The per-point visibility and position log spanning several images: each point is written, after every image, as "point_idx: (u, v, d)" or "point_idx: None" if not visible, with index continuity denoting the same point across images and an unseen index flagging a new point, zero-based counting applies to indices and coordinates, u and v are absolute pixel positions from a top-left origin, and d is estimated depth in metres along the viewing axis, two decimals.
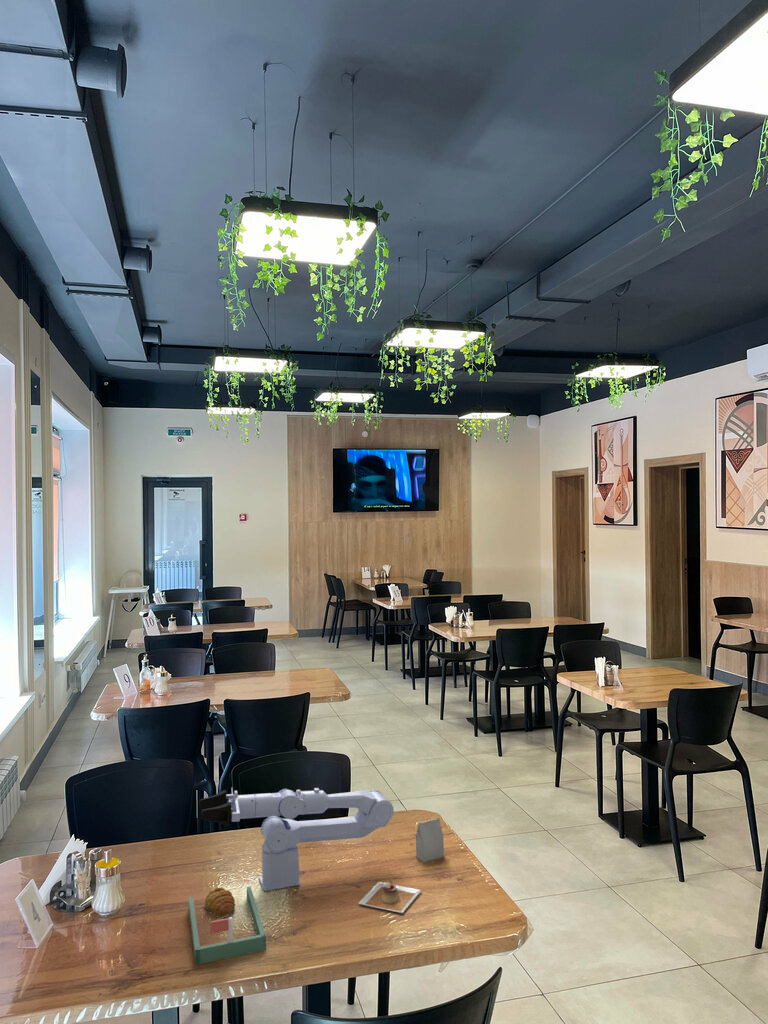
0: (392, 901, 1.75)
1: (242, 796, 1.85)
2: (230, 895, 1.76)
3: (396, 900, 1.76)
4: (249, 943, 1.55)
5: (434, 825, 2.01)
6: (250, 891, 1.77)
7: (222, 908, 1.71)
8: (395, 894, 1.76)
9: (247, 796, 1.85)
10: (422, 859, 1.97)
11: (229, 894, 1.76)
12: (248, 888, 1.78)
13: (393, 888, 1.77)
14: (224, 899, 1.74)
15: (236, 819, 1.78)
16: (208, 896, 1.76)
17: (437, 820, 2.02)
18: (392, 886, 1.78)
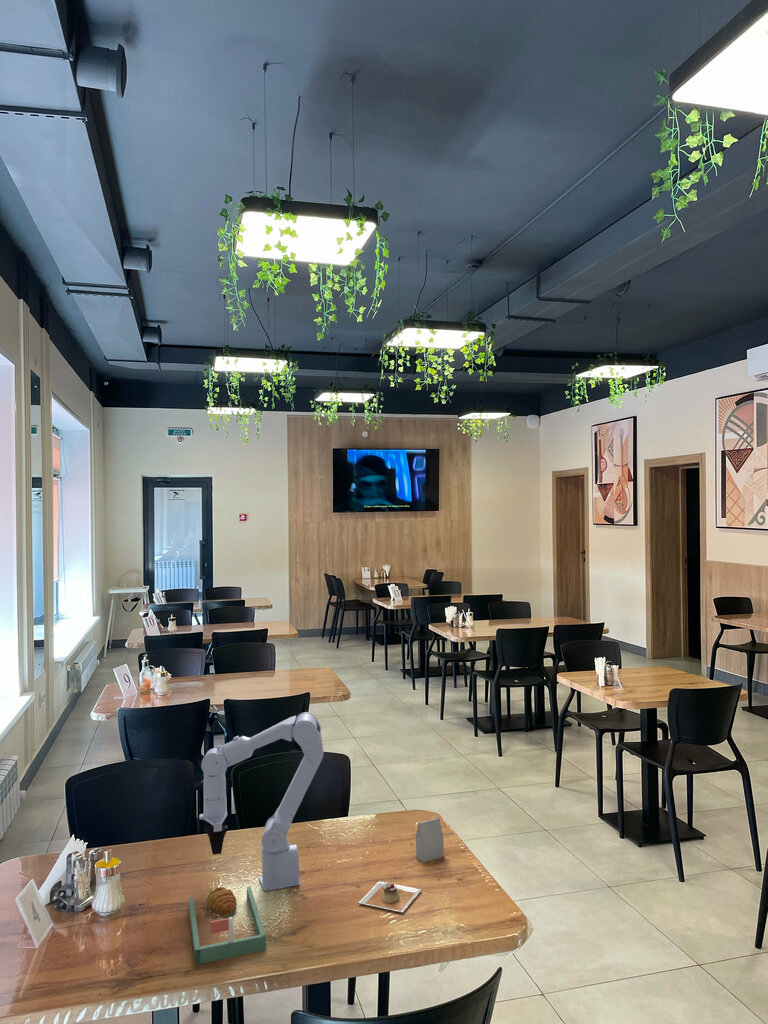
0: (392, 900, 1.76)
1: (204, 810, 1.86)
2: (232, 894, 1.76)
3: (396, 899, 1.76)
4: (249, 943, 1.55)
5: (434, 825, 2.01)
6: (250, 891, 1.77)
7: (224, 908, 1.71)
8: (396, 893, 1.77)
9: (204, 805, 1.86)
10: (422, 859, 1.97)
11: (230, 893, 1.76)
12: (248, 888, 1.78)
13: (393, 887, 1.77)
14: (225, 898, 1.74)
15: (219, 826, 1.80)
16: (209, 895, 1.76)
17: (437, 820, 2.02)
18: (392, 885, 1.78)
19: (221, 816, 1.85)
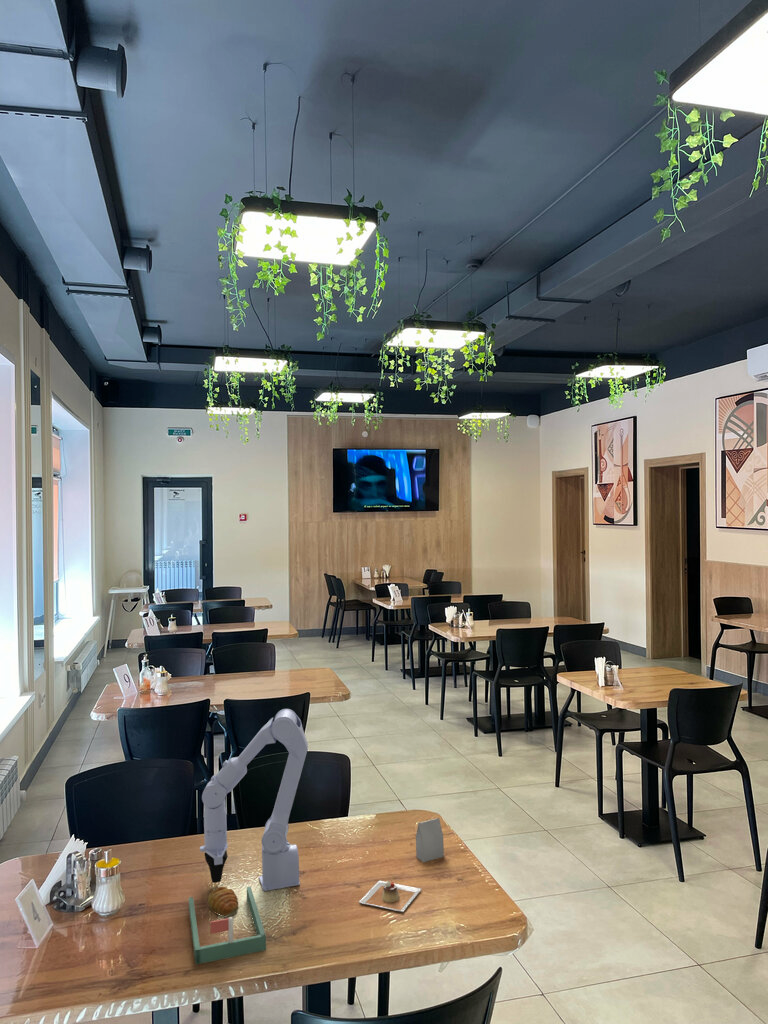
0: (392, 900, 1.76)
1: (204, 842, 1.86)
2: (233, 894, 1.76)
3: (396, 899, 1.77)
4: (249, 943, 1.55)
5: (434, 825, 2.01)
6: (250, 891, 1.77)
7: (226, 907, 1.72)
8: (396, 892, 1.77)
9: (205, 838, 1.85)
10: (422, 859, 1.97)
11: (232, 893, 1.76)
12: (248, 888, 1.78)
13: (393, 887, 1.78)
14: (227, 897, 1.74)
15: (220, 859, 1.80)
16: (211, 895, 1.76)
17: (437, 820, 2.02)
18: (392, 885, 1.78)
19: (222, 848, 1.85)
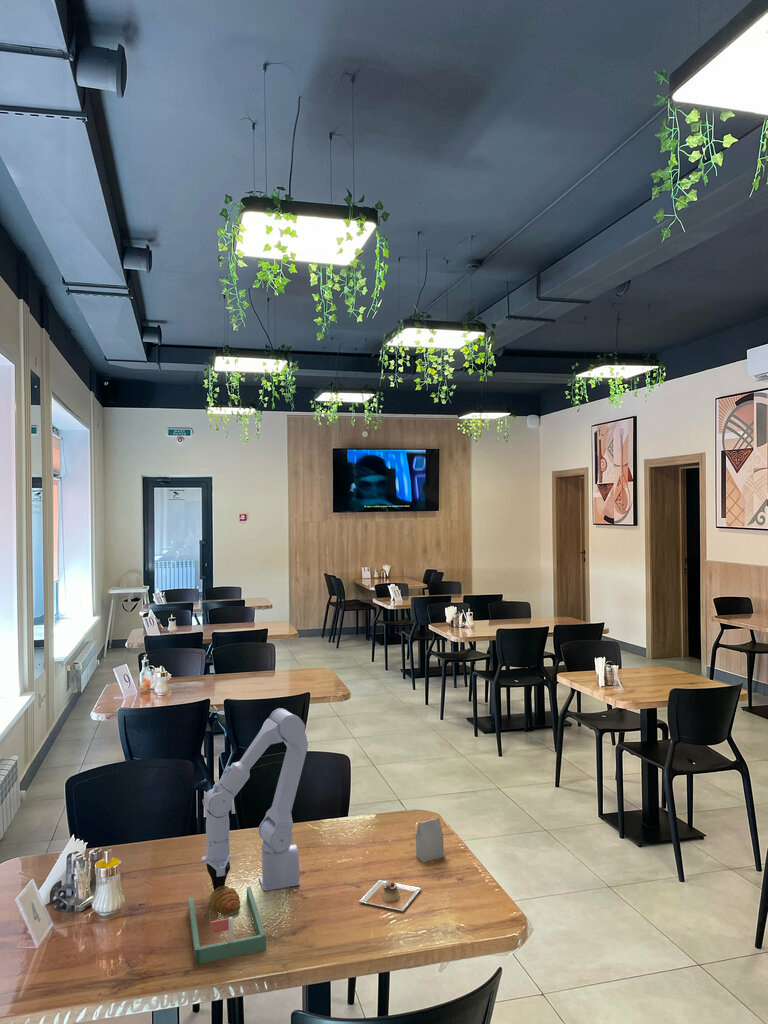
0: (392, 899, 1.76)
1: (206, 852, 1.79)
2: (235, 893, 1.77)
3: (396, 898, 1.77)
4: (249, 943, 1.55)
5: (434, 825, 2.01)
6: (250, 891, 1.77)
7: (228, 906, 1.72)
8: (396, 892, 1.77)
9: (207, 848, 1.79)
10: (422, 859, 1.97)
11: (234, 892, 1.77)
12: (248, 888, 1.78)
13: (393, 886, 1.78)
14: (229, 896, 1.74)
15: (222, 871, 1.74)
16: (213, 894, 1.77)
17: (437, 820, 2.02)
18: (392, 884, 1.79)
19: (224, 859, 1.78)
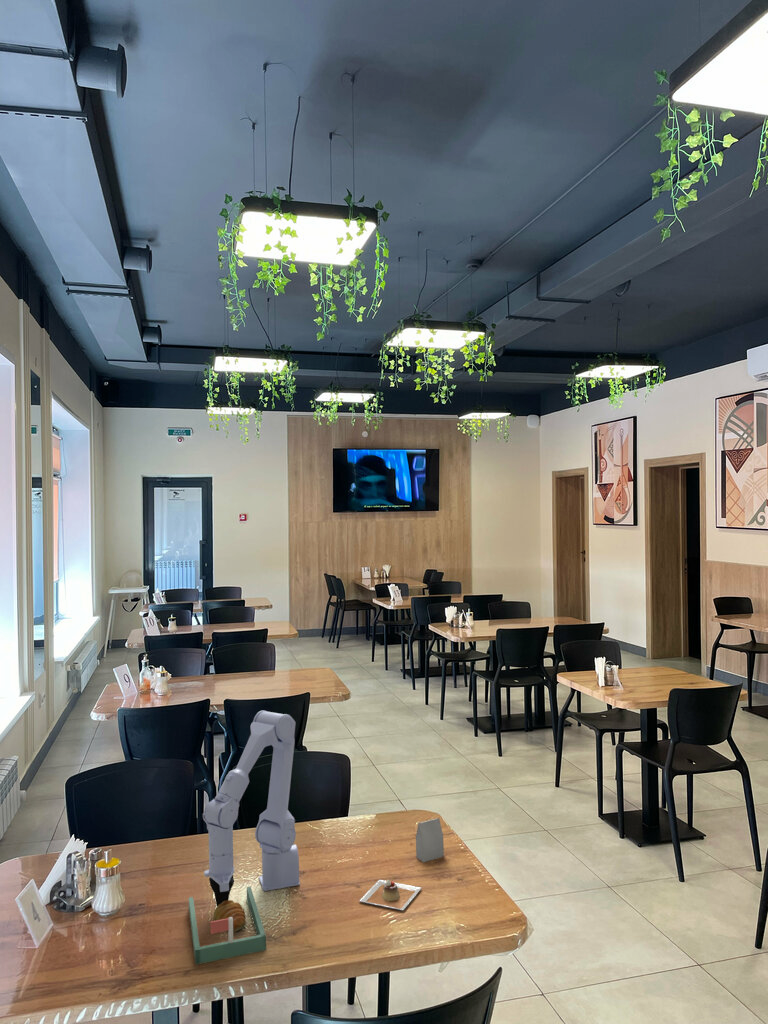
0: (393, 898, 1.77)
1: (209, 866, 1.72)
2: (240, 908, 1.69)
3: (397, 897, 1.77)
4: (249, 943, 1.55)
5: (434, 825, 2.01)
6: (250, 891, 1.77)
7: (233, 922, 1.64)
8: (396, 891, 1.78)
9: (209, 861, 1.71)
10: (422, 859, 1.97)
11: (239, 907, 1.69)
12: (248, 888, 1.78)
13: (394, 886, 1.78)
14: (234, 912, 1.67)
15: (226, 886, 1.66)
16: (217, 909, 1.69)
17: (437, 820, 2.02)
18: (393, 884, 1.79)
19: (228, 873, 1.71)
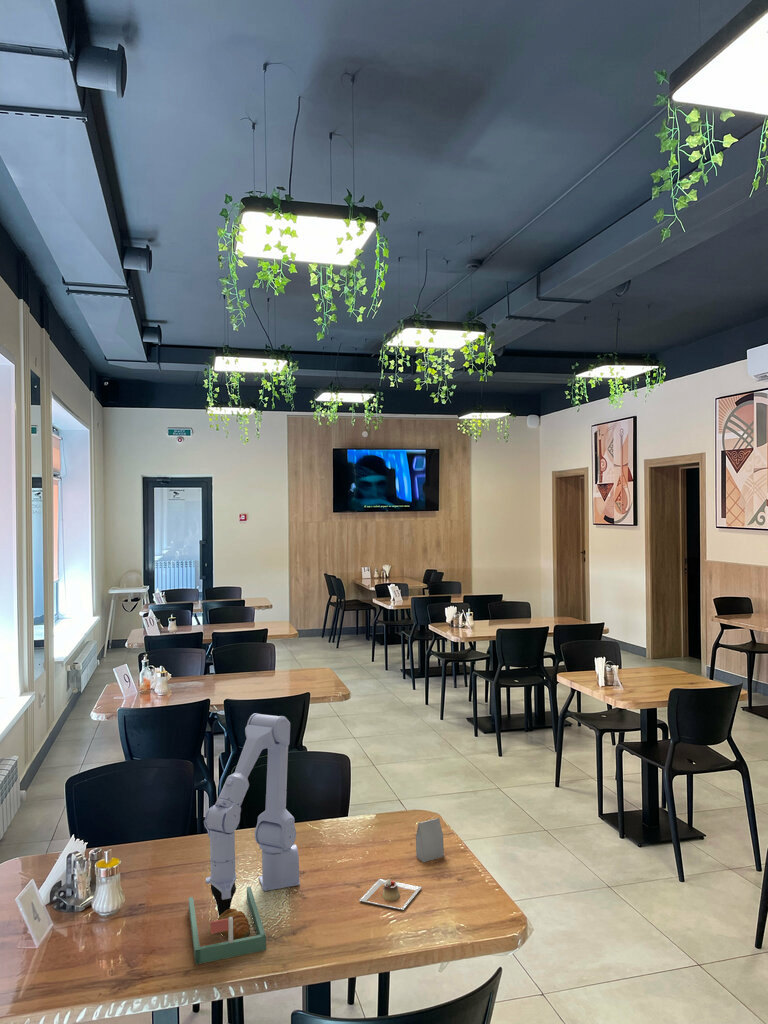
0: (393, 898, 1.77)
1: None
2: (244, 916, 1.66)
3: (397, 897, 1.77)
4: (249, 943, 1.55)
5: (434, 825, 2.01)
6: (250, 891, 1.77)
7: (237, 931, 1.61)
8: (396, 891, 1.78)
9: (211, 868, 1.68)
10: (422, 859, 1.97)
11: (243, 915, 1.66)
12: (248, 888, 1.78)
13: (394, 885, 1.79)
14: (238, 921, 1.63)
15: (228, 893, 1.63)
16: (220, 918, 1.65)
17: (437, 820, 2.02)
18: (393, 883, 1.79)
19: (230, 880, 1.67)
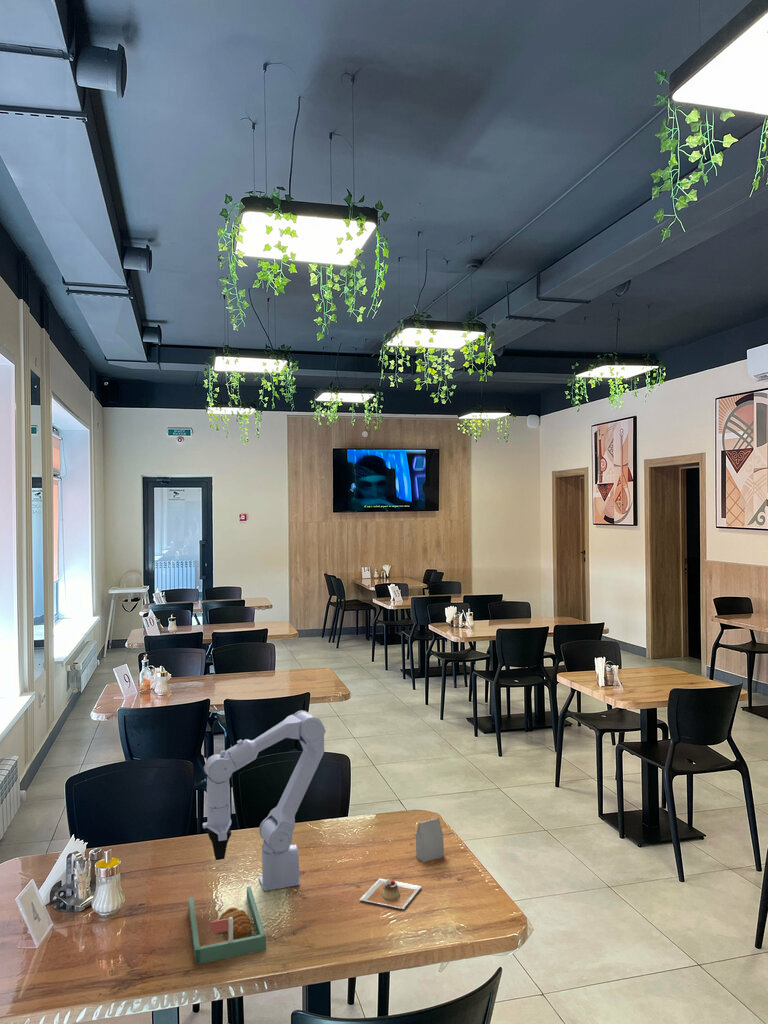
0: (393, 897, 1.77)
1: (207, 818, 1.80)
2: (245, 915, 1.66)
3: (397, 896, 1.78)
4: (249, 943, 1.55)
5: (434, 825, 2.01)
6: (250, 891, 1.77)
7: (240, 930, 1.61)
8: (396, 890, 1.78)
9: (208, 814, 1.80)
10: (422, 859, 1.97)
11: (244, 914, 1.66)
12: (248, 888, 1.78)
13: (394, 884, 1.79)
14: (240, 919, 1.64)
15: (224, 835, 1.75)
16: (222, 917, 1.66)
17: (437, 820, 2.02)
18: (393, 882, 1.79)
19: (225, 824, 1.80)
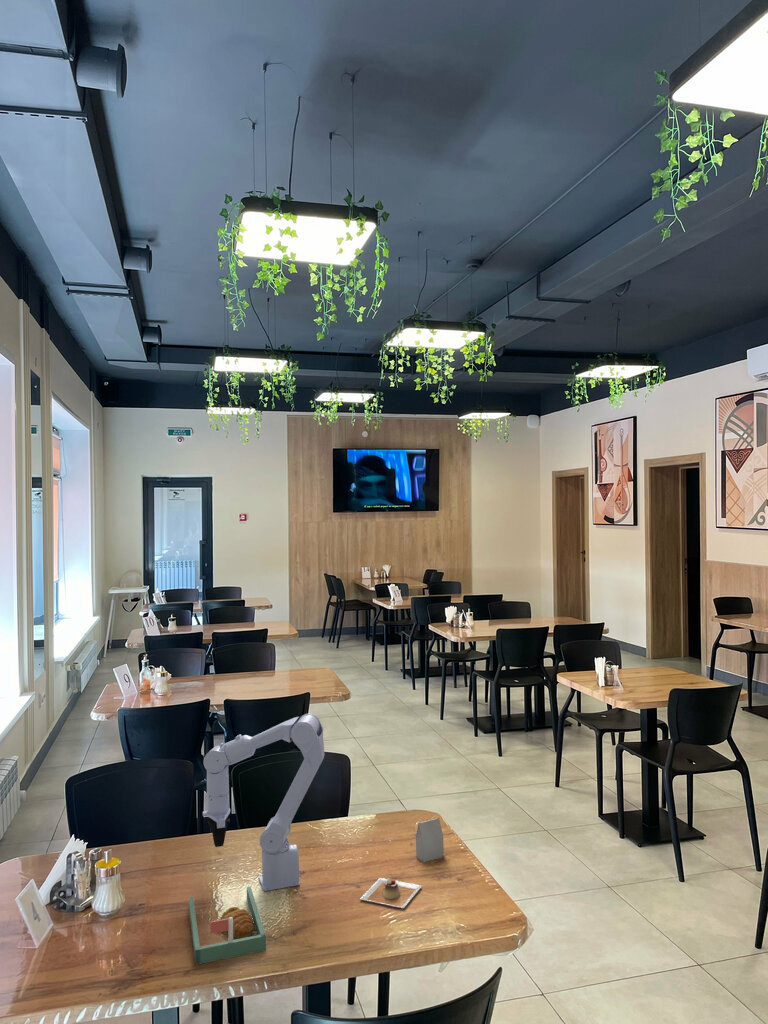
0: (393, 896, 1.78)
1: (207, 807, 1.88)
2: (247, 914, 1.66)
3: (397, 895, 1.78)
4: (249, 943, 1.55)
5: (434, 825, 2.01)
6: (250, 891, 1.77)
7: (242, 929, 1.62)
8: (396, 889, 1.79)
9: (207, 802, 1.88)
10: (422, 859, 1.97)
11: (246, 913, 1.67)
12: (248, 888, 1.78)
13: (394, 884, 1.79)
14: (241, 919, 1.64)
15: (223, 823, 1.83)
16: (223, 917, 1.66)
17: (437, 820, 2.02)
18: (393, 882, 1.80)
19: (224, 813, 1.87)
